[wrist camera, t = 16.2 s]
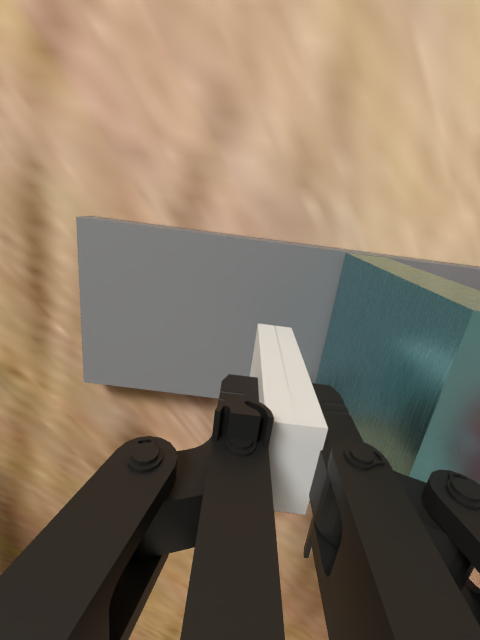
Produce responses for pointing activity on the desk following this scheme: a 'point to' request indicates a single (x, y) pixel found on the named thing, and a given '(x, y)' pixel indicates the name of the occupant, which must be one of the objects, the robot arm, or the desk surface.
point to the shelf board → (203, 301)
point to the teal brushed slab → (407, 364)
